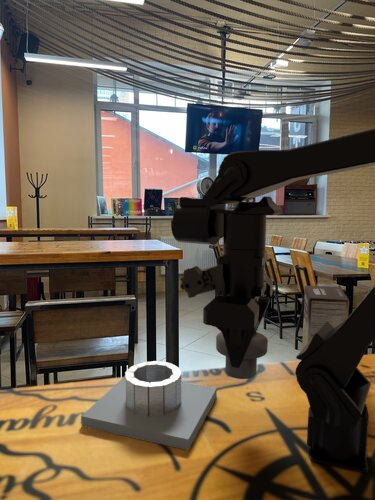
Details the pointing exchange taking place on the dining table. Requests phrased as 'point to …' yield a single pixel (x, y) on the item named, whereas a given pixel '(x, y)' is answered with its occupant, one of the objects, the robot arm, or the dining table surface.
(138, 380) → the faceted ring
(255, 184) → the robot arm
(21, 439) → the dining table surface
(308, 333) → the coffee box
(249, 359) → the knob
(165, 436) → the mount plate
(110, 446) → the dining table surface
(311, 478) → the dining table surface
